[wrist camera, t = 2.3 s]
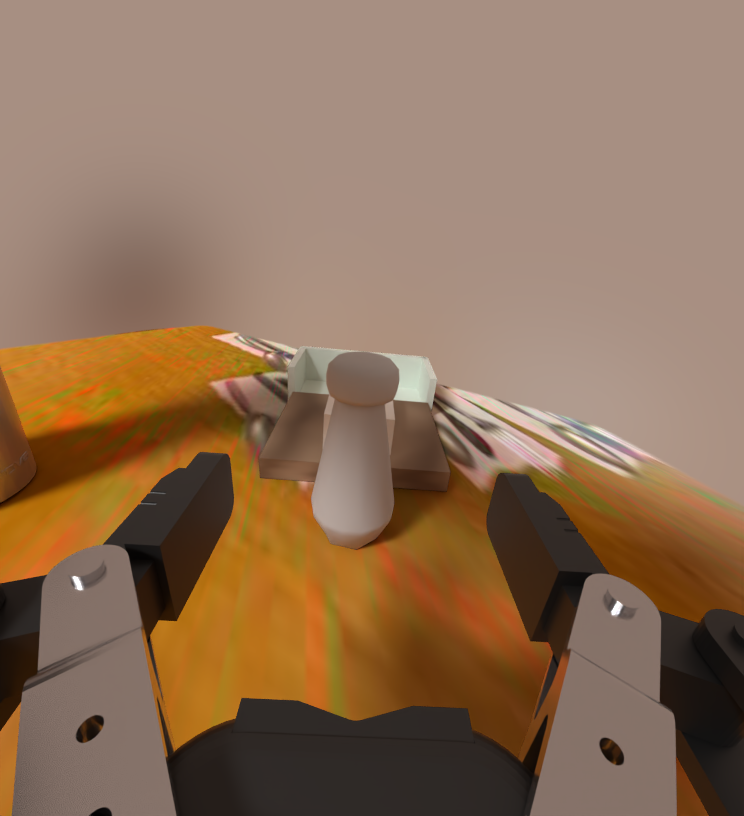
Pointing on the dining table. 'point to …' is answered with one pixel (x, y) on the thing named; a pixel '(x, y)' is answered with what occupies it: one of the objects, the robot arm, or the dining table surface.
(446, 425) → the dining table surface
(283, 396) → the dining table surface
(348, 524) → the salt shaker
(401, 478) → the board
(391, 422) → the beige block
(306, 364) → the tray
